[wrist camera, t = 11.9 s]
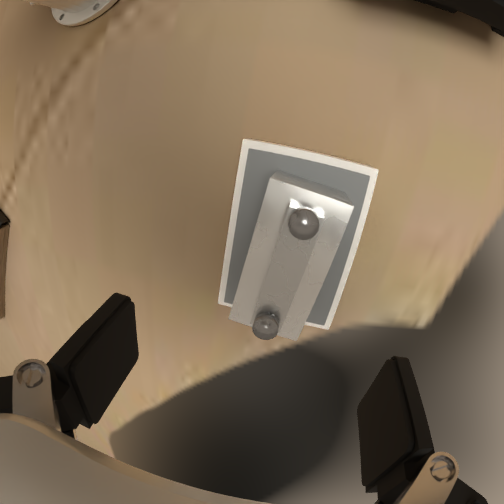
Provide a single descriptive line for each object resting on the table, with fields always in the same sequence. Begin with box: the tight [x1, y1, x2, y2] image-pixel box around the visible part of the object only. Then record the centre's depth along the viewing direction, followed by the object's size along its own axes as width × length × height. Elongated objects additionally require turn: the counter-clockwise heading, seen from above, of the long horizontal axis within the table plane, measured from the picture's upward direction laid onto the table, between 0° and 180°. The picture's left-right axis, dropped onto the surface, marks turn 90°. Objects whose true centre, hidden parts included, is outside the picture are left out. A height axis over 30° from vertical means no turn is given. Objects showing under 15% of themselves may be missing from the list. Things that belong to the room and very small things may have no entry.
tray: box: [218, 139, 379, 330], centre depth 24 cm, size 10×14×3 cm
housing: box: [228, 170, 354, 341], centre depth 20 cm, size 10×5×6 cm, turn 164°
